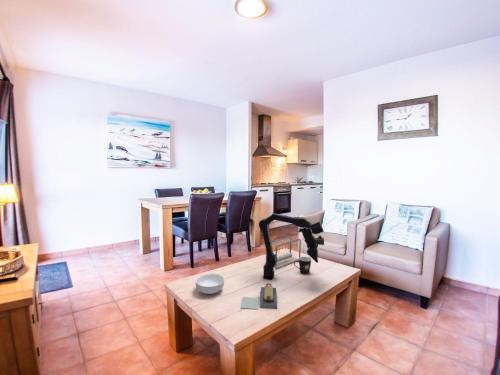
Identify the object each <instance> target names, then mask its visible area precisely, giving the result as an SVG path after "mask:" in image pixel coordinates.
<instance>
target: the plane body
mask: <svg viewBox="0 0 500 375" xmlns="http://www.w3.org/2000/svg"><path fill="white" fill-rule="evenodd" d="M265 286H273V285H272V284H271V283H269V282H268V283H265ZM265 286H261V287H260V296H259V308H261V309H262V308H263V309H278V297H277V296H278V294H277V287H273V302H264V295H265Z"/></svg>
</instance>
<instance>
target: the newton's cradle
mask: <svg viewBox="0 0 500 375" xmlns="http://www.w3.org/2000/svg"><path fill="white" fill-rule="evenodd" d="M283 241H284V242H283ZM298 241H299V242H298ZM280 242H281V243H280ZM295 242H298V243H299V244H298V246H299V247H298V259H297V258H294V257H293V253H292V248H293V247H292V244H293V243H295ZM276 243H277V244H276ZM301 243H302V240H301V238H296V237H292V236H290V235H289V236H285V237H281V238H278V239H275V240H271V245H273V246H275V252H274V255H275V254H276V255H277V259H278V260H277V263H276V265H275V267H274V268H275V269H276V270H279V269H281V268H283V267H286V266H288V265H291V264H294V262H295V261H299V257H301V252H302V251H301V250H302V249H301V248H302V247H301V246H302V244H301ZM284 245H285V248H284V247H283V246H284ZM287 245H289V246H288V247H287ZM281 246H282V248H281V249H283V248H284V249H287V248H288V251H289V252H288V251H286V253H285V252H280V247H281ZM278 254H280V255H278ZM289 258H290V259H294V260H293V261H290V262H287V263H285V264H282V265H280V266H278V265H277V264H278V263H279V262H282V261H285V260H288V259H289ZM266 262H267V252H266V251H265V263H266Z"/></svg>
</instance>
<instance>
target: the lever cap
mask: <svg viewBox="0 0 500 375" xmlns="http://www.w3.org/2000/svg"><path fill="white" fill-rule="evenodd" d="M264 287H265V295H264V302H273V288H274V286H273V285H272V286H266V285H264Z"/></svg>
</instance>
